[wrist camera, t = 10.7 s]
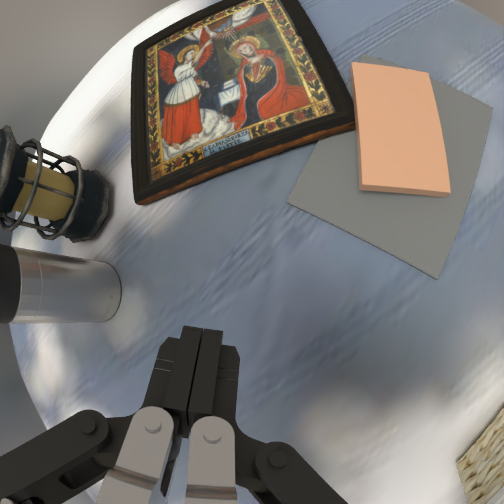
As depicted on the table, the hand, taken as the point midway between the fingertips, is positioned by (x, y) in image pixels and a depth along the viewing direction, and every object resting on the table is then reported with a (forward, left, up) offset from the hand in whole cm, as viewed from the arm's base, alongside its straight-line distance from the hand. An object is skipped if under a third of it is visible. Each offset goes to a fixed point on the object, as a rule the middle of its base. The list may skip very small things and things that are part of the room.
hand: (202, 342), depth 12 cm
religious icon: (-27, +24, -24) cm, 43 cm away
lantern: (-38, -4, -24) cm, 45 cm away
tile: (+4, +16, -21) cm, 27 cm away
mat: (+1, +22, -24) cm, 32 cm away
